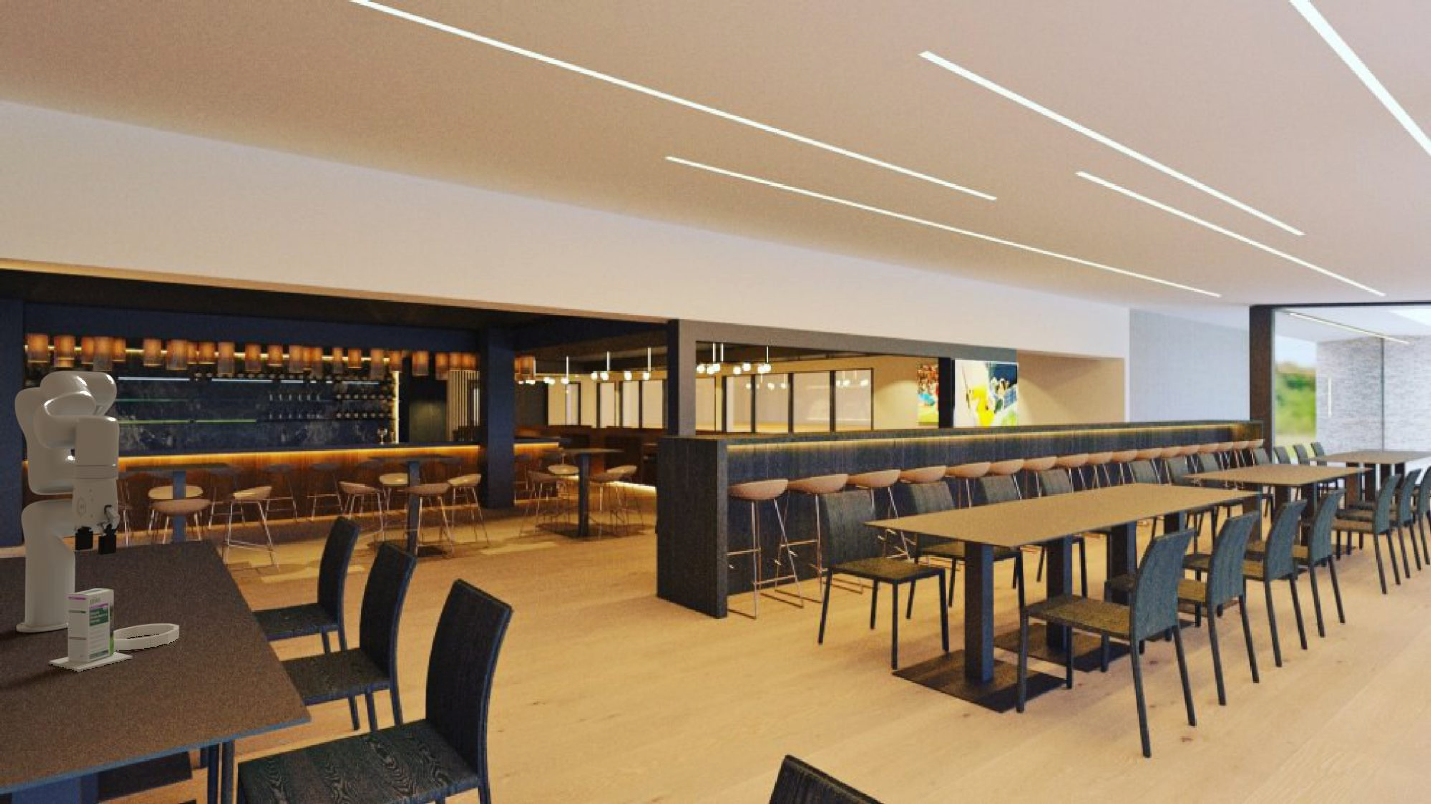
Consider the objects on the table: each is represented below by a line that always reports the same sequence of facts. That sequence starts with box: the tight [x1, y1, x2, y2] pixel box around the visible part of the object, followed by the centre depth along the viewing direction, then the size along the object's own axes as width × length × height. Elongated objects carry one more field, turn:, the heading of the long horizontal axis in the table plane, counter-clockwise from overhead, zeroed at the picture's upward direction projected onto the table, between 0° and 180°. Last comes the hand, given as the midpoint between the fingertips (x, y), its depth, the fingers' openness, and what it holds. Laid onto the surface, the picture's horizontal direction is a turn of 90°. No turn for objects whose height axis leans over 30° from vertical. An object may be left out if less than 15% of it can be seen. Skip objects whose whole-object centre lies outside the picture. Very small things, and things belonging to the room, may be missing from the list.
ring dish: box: [114, 623, 180, 652], centre depth 184 cm, size 14×14×2 cm
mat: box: [48, 651, 133, 673], centre depth 170 cm, size 12×10×1 cm
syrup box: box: [67, 587, 115, 663], centre depth 170 cm, size 6×6×14 cm
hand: (95, 551), depth 172 cm, fingers open, 9 cm apart
